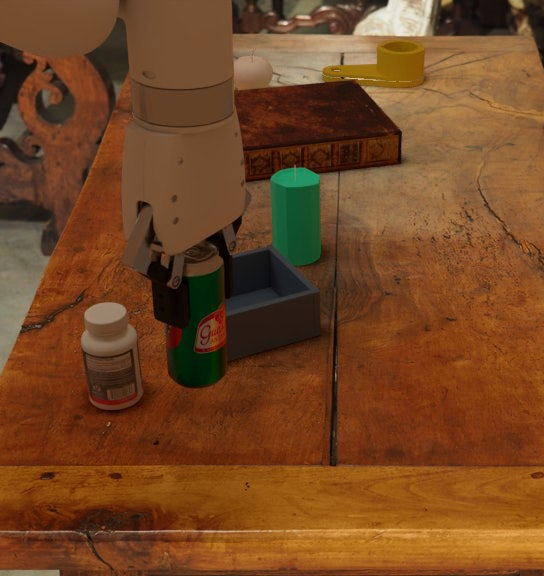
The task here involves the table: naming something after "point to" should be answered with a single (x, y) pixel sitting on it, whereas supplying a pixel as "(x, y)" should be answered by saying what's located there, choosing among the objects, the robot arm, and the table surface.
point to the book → (314, 129)
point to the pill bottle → (111, 357)
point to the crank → (386, 66)
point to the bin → (269, 304)
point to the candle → (296, 215)
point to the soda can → (200, 321)
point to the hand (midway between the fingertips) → (194, 306)
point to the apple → (252, 72)
